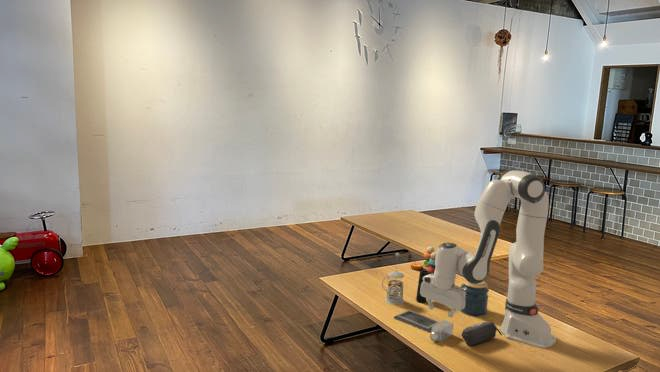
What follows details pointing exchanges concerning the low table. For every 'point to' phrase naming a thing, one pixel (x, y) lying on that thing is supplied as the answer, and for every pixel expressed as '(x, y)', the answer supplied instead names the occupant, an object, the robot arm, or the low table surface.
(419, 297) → the pipe connector
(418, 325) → the plate
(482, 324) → the glasses case
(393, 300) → the french press
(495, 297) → the low table surface
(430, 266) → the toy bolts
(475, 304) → the canister
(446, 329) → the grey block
